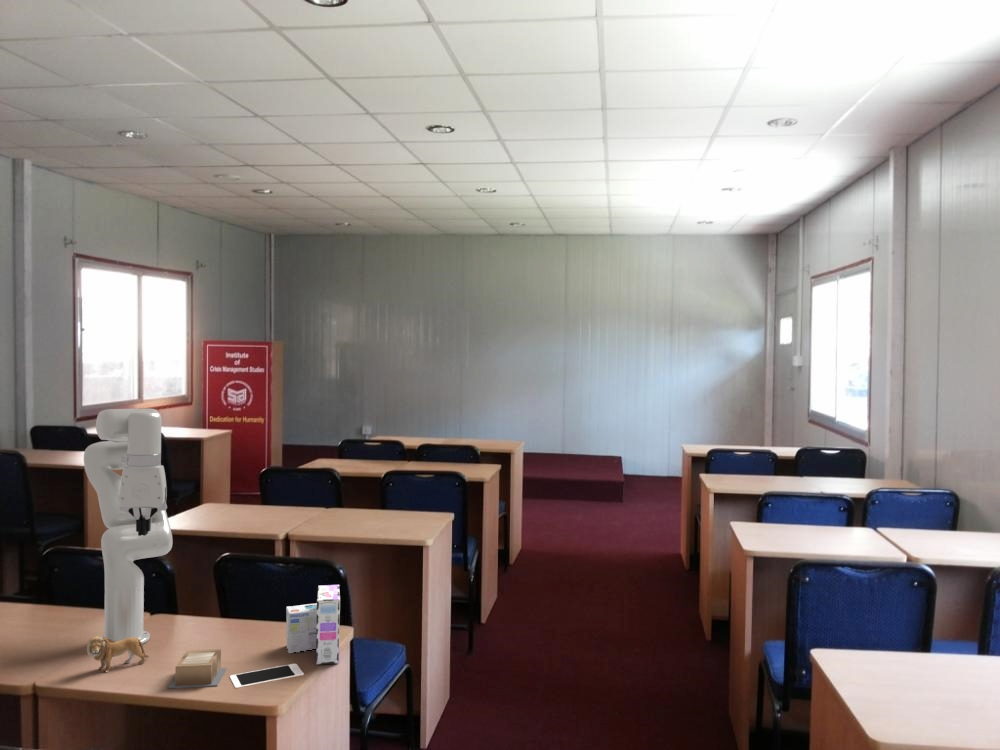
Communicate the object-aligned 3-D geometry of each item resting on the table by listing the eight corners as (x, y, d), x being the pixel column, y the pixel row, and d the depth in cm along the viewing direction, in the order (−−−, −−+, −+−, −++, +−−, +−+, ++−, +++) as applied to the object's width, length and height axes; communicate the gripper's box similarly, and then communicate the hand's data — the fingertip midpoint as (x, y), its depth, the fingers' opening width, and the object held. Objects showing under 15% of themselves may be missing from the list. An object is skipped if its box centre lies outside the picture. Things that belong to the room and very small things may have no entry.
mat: (179, 671, 182) (179, 670, 182) (226, 669, 184) (226, 667, 184) (167, 688, 172) (167, 687, 172) (217, 686, 174) (217, 684, 174)
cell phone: (304, 676, 181) (304, 674, 181) (235, 690, 173) (235, 687, 173) (295, 665, 188) (295, 663, 188) (229, 678, 180) (229, 675, 180)
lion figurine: (90, 679, 177) (91, 641, 177) (82, 673, 181) (82, 636, 181) (153, 661, 189) (153, 626, 189) (143, 656, 192) (144, 621, 192)
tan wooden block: (187, 650, 183) (175, 666, 173) (220, 648, 184) (211, 664, 174) (187, 668, 183) (175, 685, 173) (220, 667, 184) (211, 684, 174)
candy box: (339, 663, 188) (339, 599, 187) (315, 665, 186) (315, 600, 186) (339, 644, 201) (340, 583, 201) (317, 645, 200) (317, 584, 200)
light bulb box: (325, 640, 204) (325, 601, 204) (329, 649, 198) (329, 608, 198) (285, 645, 200) (285, 605, 200) (288, 654, 194) (288, 613, 194)
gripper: (106, 463, 179) (105, 538, 179) (172, 462, 182) (172, 537, 183) (116, 459, 186) (115, 531, 187) (179, 458, 190) (178, 530, 190)
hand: (143, 534), depth 185 cm, fingers closed
